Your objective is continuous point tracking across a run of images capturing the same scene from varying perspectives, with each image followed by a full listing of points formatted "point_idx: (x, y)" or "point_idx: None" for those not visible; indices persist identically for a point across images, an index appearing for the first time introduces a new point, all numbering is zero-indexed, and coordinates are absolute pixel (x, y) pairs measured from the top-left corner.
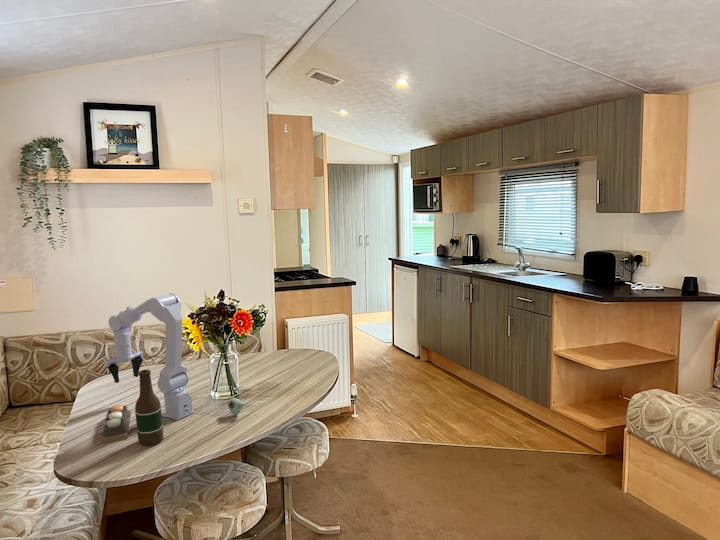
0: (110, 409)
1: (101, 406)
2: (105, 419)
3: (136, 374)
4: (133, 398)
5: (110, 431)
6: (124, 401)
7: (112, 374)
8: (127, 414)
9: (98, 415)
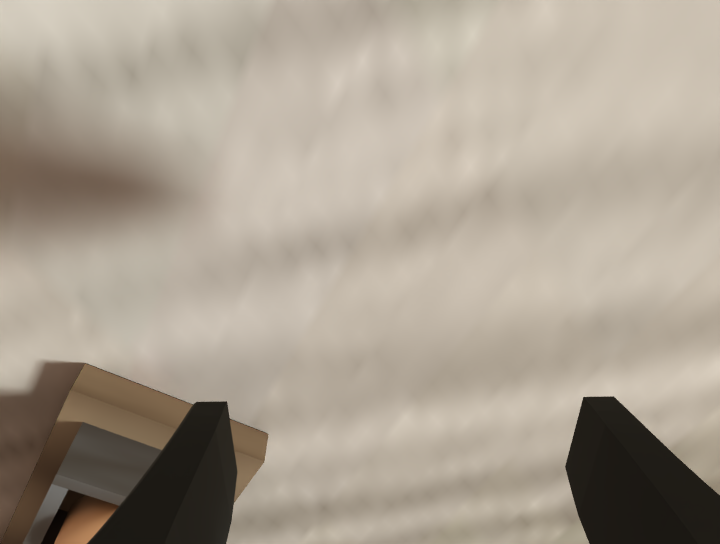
0: (74, 481)
1: (115, 20)
2: (32, 475)
3: (582, 515)
4: (504, 108)
5: None
6: (385, 109)
7: (116, 538)
8: None
9: (26, 256)
